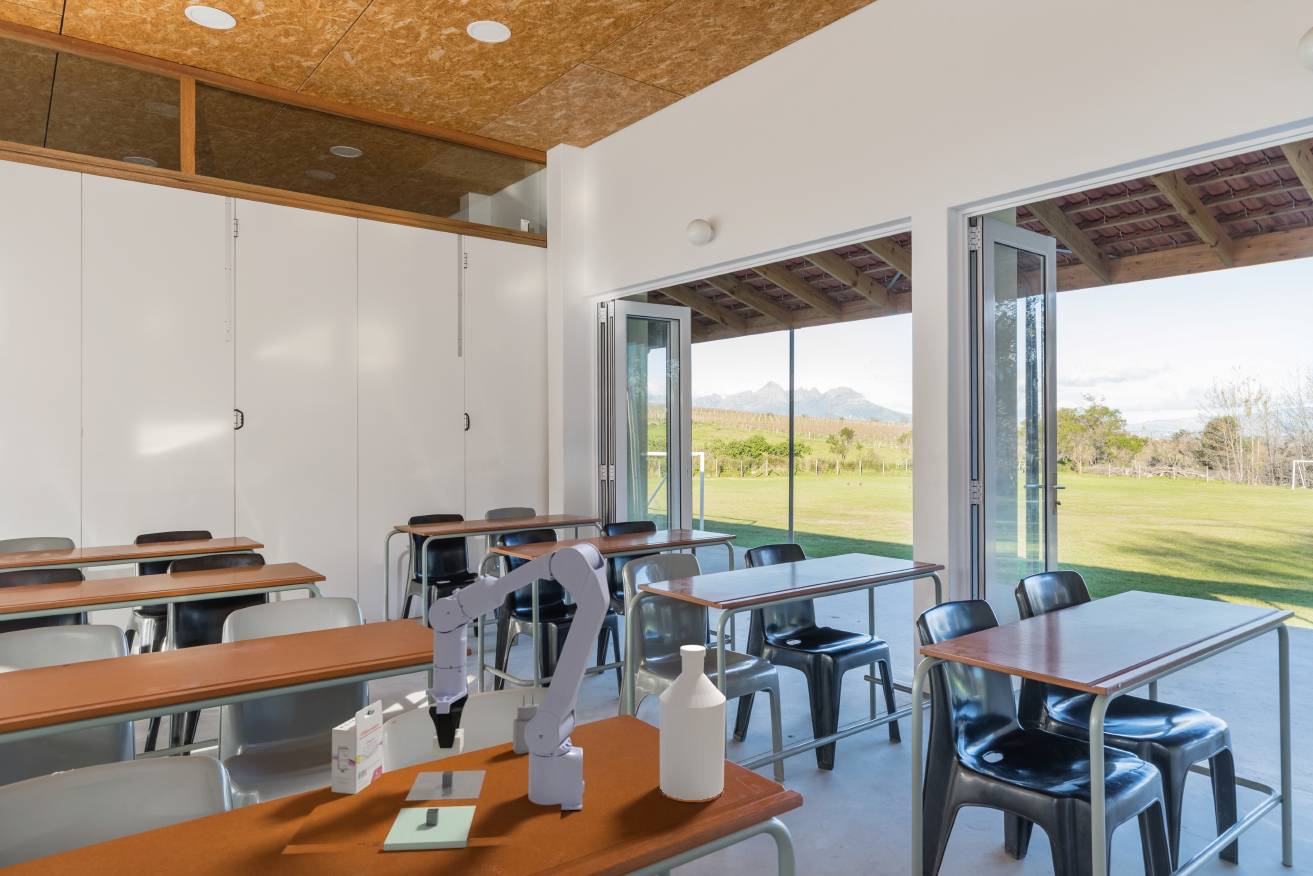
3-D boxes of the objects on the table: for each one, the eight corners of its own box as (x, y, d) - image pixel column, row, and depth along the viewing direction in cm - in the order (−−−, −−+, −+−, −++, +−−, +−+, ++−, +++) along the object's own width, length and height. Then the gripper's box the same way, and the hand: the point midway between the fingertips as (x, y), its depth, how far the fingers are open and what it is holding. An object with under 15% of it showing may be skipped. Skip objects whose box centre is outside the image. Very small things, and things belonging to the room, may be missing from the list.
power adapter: (511, 754, 154) (512, 693, 155) (537, 750, 157) (538, 689, 157) (516, 759, 152) (517, 697, 152) (543, 755, 154) (544, 693, 155)
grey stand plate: (485, 775, 144) (486, 759, 144) (478, 804, 132) (478, 786, 132) (419, 777, 142) (419, 761, 142) (405, 806, 130) (405, 788, 130)
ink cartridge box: (357, 778, 142) (359, 696, 142) (382, 780, 141) (384, 698, 141) (329, 797, 134) (331, 711, 134) (355, 800, 133) (357, 713, 133)
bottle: (646, 783, 141) (648, 644, 142) (701, 771, 147) (702, 638, 148) (680, 809, 130) (682, 659, 131) (738, 795, 136) (739, 651, 137)
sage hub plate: (475, 811, 129) (476, 793, 129) (465, 847, 117) (466, 827, 117) (401, 814, 127) (401, 796, 127) (383, 850, 115) (383, 830, 116)
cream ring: (463, 745, 140) (463, 728, 140) (459, 754, 135) (460, 737, 135) (437, 746, 139) (437, 729, 139) (432, 755, 135) (432, 738, 135)
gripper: (434, 654, 145) (432, 729, 144) (418, 676, 130) (417, 758, 130) (472, 654, 145) (471, 728, 145) (461, 675, 131) (460, 757, 130)
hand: (448, 742), depth 137 cm, fingers closed on cream ring, 5 cm apart
